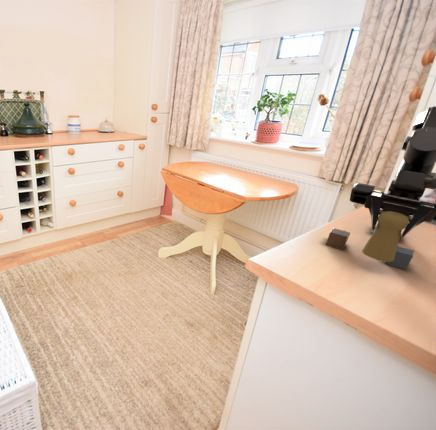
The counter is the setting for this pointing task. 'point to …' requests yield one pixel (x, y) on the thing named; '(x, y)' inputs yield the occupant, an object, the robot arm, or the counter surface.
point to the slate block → (402, 257)
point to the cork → (386, 236)
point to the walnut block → (337, 238)
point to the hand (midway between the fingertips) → (387, 232)
